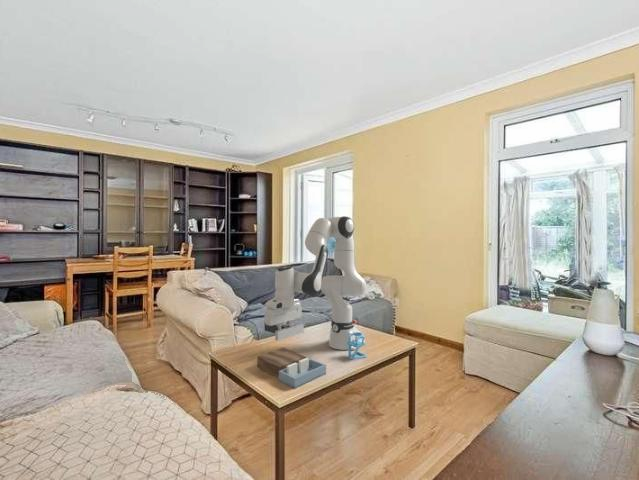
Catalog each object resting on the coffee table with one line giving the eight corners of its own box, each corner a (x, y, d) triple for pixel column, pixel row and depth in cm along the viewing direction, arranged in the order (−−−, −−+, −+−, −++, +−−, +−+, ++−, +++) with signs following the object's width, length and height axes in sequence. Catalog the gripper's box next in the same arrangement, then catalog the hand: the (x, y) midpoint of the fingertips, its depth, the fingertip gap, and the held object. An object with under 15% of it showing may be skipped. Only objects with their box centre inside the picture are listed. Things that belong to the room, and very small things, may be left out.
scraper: (253, 333, 150) (252, 325, 150) (279, 326, 162) (278, 318, 162) (277, 340, 138) (277, 331, 138) (303, 332, 150) (303, 323, 150)
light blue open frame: (344, 356, 163) (345, 333, 163) (356, 352, 168) (356, 330, 168) (355, 361, 157) (356, 337, 157) (367, 357, 162) (367, 333, 162)
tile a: (306, 357, 146) (308, 358, 145) (306, 368, 146) (308, 369, 145) (298, 360, 142) (301, 361, 141) (298, 371, 142) (300, 373, 141)
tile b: (295, 362, 140) (297, 363, 139) (295, 373, 140) (297, 374, 139) (286, 365, 137) (288, 367, 136) (286, 377, 137) (288, 378, 136)
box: (309, 366, 149) (310, 358, 149) (325, 373, 143) (326, 364, 142) (278, 380, 135) (278, 371, 135) (294, 388, 129) (295, 378, 128)
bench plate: (283, 357, 160) (283, 347, 160) (306, 367, 149) (306, 356, 149) (257, 367, 148) (257, 356, 148) (279, 378, 137) (280, 366, 137)
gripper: (295, 297, 157) (295, 325, 157) (262, 303, 141) (262, 334, 142) (305, 299, 153) (304, 327, 153) (271, 306, 137) (271, 338, 138)
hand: (283, 331), depth 147 cm, fingers closed on scraper, 2 cm apart
